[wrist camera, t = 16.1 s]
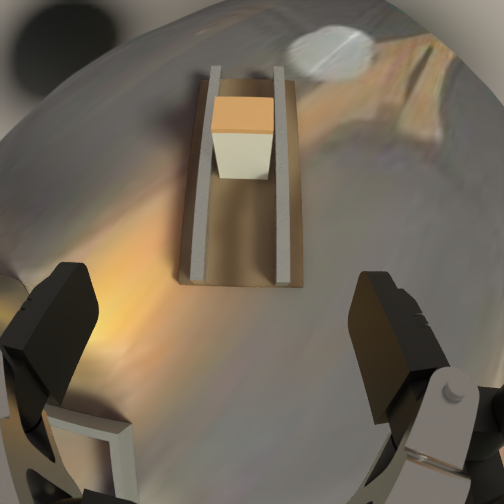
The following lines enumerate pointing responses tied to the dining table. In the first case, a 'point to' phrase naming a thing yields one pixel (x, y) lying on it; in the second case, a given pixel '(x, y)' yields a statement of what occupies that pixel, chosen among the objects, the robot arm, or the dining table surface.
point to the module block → (243, 136)
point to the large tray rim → (108, 431)
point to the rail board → (244, 198)
